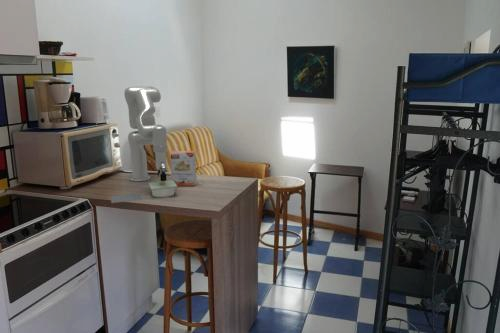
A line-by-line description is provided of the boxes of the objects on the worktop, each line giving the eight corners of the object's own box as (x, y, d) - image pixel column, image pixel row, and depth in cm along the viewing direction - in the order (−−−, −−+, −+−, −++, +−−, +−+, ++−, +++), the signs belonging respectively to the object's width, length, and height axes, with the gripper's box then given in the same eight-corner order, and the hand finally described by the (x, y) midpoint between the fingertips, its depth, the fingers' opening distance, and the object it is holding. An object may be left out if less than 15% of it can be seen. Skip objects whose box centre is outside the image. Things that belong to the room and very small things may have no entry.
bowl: (151, 192, 237) (150, 184, 236) (172, 190, 241) (171, 182, 240) (153, 198, 226) (153, 189, 225) (175, 196, 230) (175, 187, 229)
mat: (110, 196, 231) (110, 196, 231) (140, 193, 236) (140, 193, 236) (111, 203, 218) (111, 203, 218) (142, 200, 223) (142, 199, 223)
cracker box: (171, 186, 251) (169, 152, 247) (174, 183, 257) (172, 150, 252) (194, 186, 250) (192, 152, 245) (196, 184, 255) (195, 150, 251)
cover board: (148, 184, 237) (147, 172, 235) (173, 181, 241) (172, 170, 240) (151, 190, 224) (150, 177, 222) (177, 187, 228) (176, 175, 227)
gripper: (151, 146, 235) (153, 176, 238) (155, 151, 219) (157, 183, 222) (165, 145, 237) (166, 175, 241) (169, 150, 221) (171, 181, 225)
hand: (162, 178), depth 232 cm, fingers open, 9 cm apart
